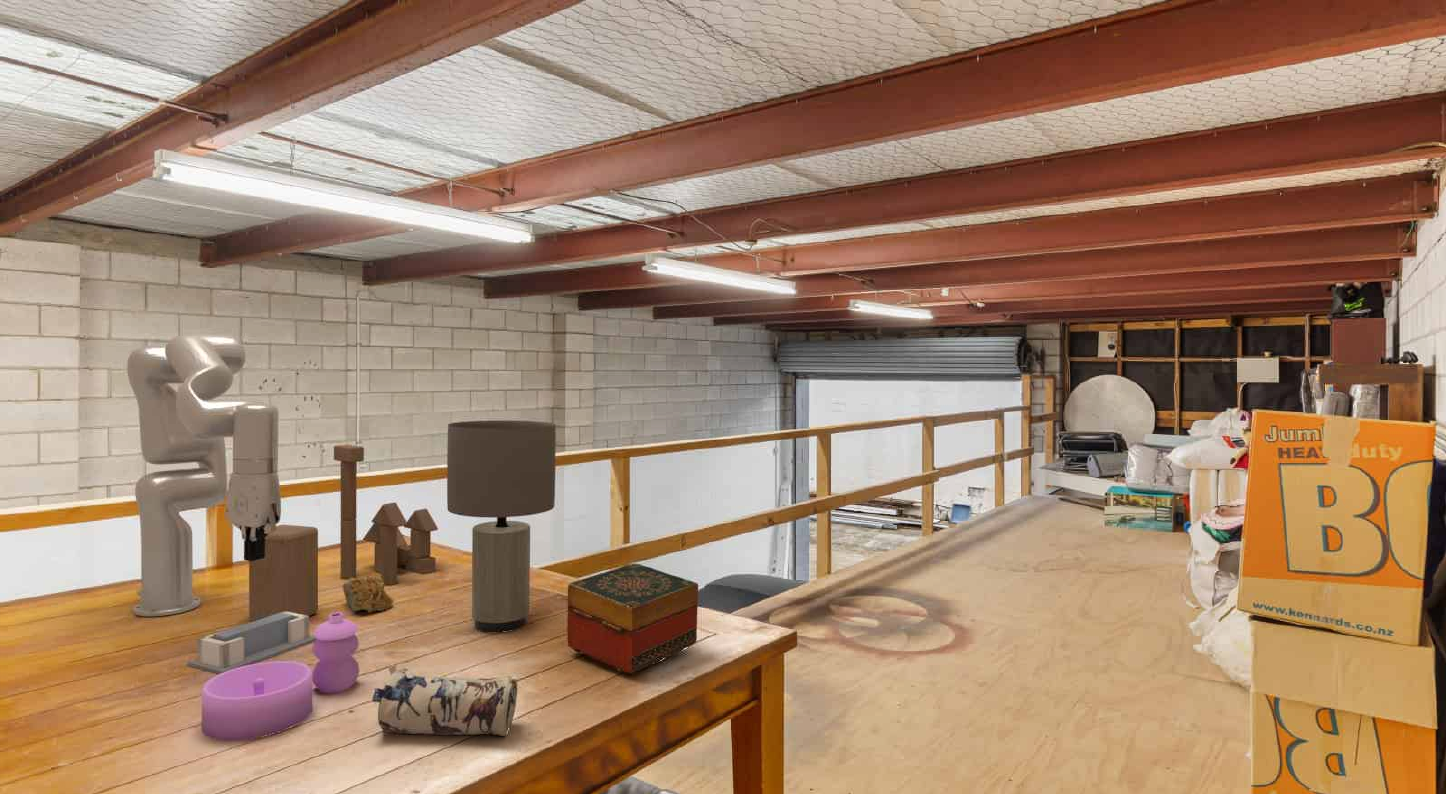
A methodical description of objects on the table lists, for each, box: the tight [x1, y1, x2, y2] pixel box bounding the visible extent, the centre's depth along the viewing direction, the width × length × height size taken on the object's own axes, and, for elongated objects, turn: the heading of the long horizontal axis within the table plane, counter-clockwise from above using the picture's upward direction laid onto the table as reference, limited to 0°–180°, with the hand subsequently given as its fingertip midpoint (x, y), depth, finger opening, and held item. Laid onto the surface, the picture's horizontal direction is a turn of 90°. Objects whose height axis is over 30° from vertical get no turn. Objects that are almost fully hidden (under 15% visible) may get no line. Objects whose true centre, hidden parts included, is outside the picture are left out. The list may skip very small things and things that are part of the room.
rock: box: [342, 576, 394, 613], centre depth 180 cm, size 12×9×10 cm
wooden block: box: [248, 524, 319, 622], centre depth 171 cm, size 10×10×20 cm
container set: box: [201, 611, 360, 741], centre depth 128 cm, size 25×15×13 cm, turn 152°
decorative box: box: [566, 563, 699, 674], centre depth 154 cm, size 20×22×16 cm
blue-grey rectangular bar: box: [213, 613, 293, 657], centre depth 151 cm, size 14×4×5 cm, turn 157°
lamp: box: [446, 420, 557, 633], centre depth 170 cm, size 23×23×44 cm
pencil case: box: [371, 663, 521, 737], centre depth 121 cm, size 22×8×10 cm, turn 88°
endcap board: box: [187, 611, 317, 675], centre depth 151 cm, size 10×20×5 cm, turn 157°
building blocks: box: [333, 444, 439, 586], centre depth 207 cm, size 19×25×35 cm
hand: (254, 558), depth 151 cm, fingers closed
